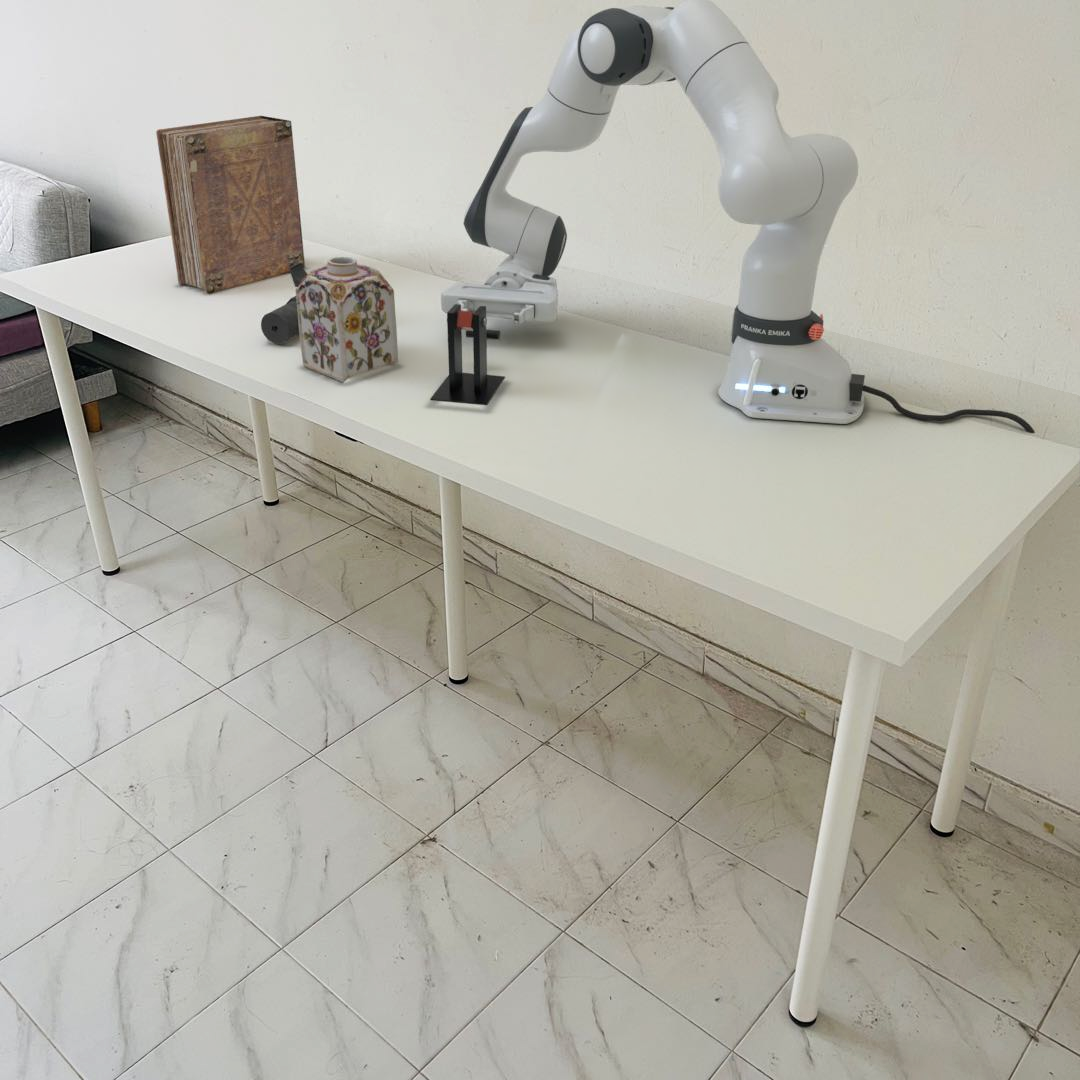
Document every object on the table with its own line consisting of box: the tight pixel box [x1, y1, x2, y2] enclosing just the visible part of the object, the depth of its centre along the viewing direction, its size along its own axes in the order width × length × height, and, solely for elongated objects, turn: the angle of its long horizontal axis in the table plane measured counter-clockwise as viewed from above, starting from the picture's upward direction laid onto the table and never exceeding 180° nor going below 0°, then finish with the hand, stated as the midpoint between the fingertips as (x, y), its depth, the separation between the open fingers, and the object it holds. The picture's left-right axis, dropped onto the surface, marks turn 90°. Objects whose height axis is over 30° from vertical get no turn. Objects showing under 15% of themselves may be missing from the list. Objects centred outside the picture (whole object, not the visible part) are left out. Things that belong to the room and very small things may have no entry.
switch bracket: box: [429, 304, 506, 406], centre depth 169 cm, size 12×9×14 cm
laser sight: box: [260, 262, 308, 345], centre depth 198 cm, size 10×22×10 cm, turn 158°
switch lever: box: [457, 311, 501, 341], centre depth 172 cm, size 13×6×2 cm
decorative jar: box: [295, 256, 399, 383], centre depth 178 cm, size 12×12×18 cm
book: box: [155, 115, 306, 295], centre depth 220 cm, size 25×9×30 cm, turn 140°
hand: (490, 316), depth 181 cm, fingers open, 8 cm apart
